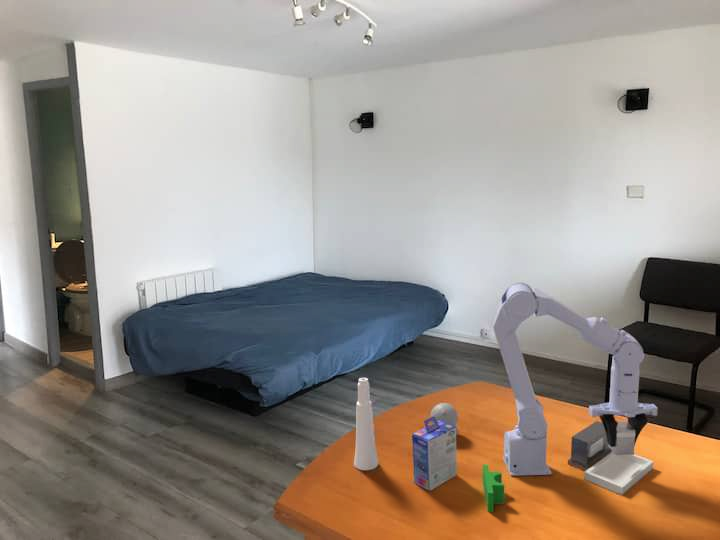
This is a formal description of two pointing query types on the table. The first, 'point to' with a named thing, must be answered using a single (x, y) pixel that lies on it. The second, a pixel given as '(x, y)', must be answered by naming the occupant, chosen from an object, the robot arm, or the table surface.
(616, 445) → the block
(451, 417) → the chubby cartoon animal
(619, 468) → the tray
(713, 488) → the table surface
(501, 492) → the pipe clamp
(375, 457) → the cosmetic bottle
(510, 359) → the robot arm
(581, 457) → the mounted housing
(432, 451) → the ink cartridge box
